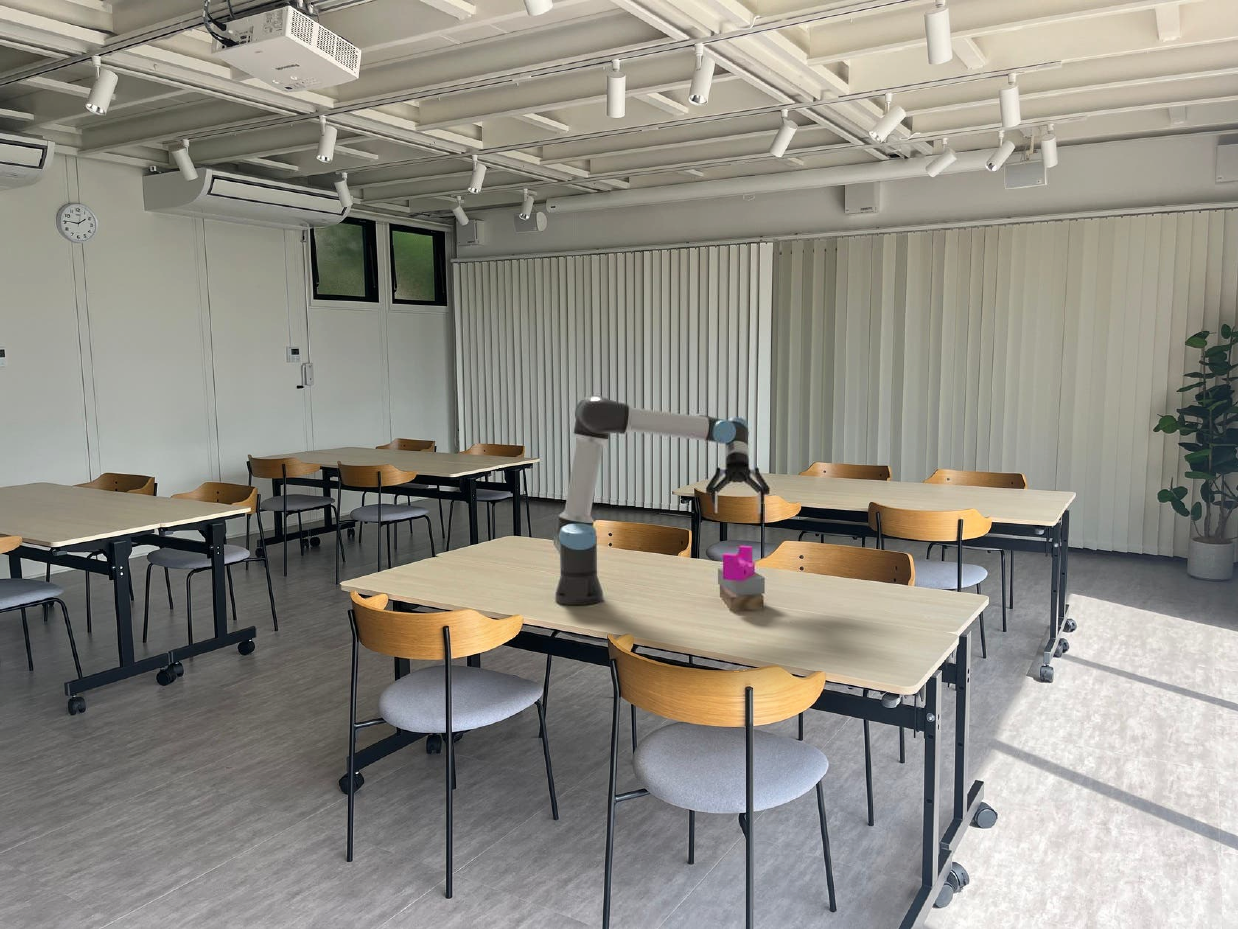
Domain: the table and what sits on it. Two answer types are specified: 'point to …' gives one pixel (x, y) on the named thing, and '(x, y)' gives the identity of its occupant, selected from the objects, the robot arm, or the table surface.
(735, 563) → the toy block
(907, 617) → the table surface
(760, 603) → the tower base
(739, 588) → the tower top
